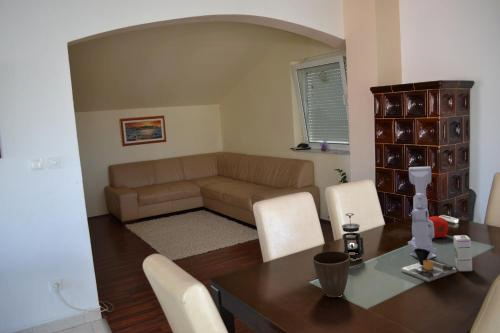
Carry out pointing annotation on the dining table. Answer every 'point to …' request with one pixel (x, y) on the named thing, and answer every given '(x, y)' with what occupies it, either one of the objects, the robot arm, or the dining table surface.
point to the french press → (352, 246)
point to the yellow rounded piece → (428, 264)
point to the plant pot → (332, 271)
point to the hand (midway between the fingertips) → (423, 264)
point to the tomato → (439, 226)
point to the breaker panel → (416, 266)
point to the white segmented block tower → (462, 253)
